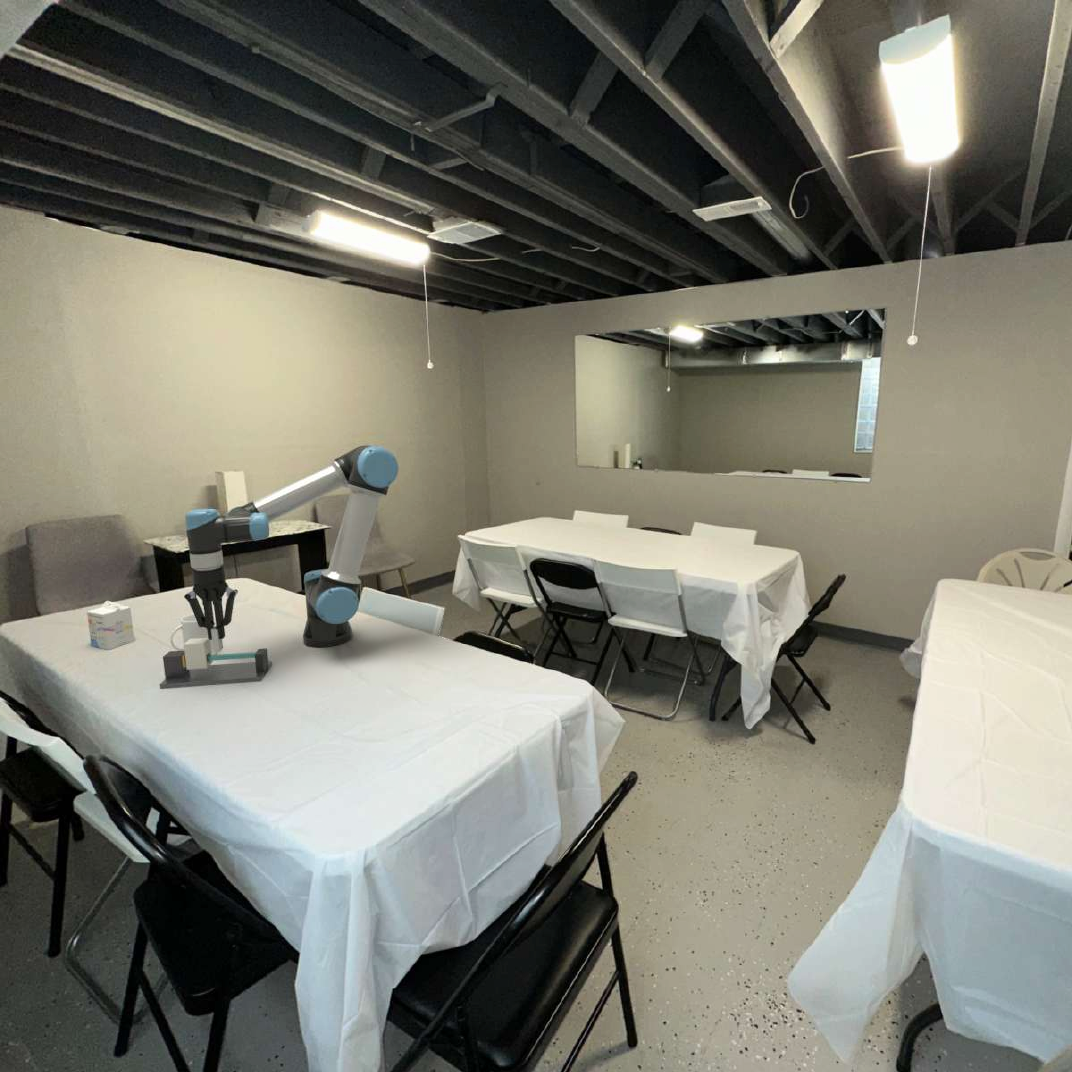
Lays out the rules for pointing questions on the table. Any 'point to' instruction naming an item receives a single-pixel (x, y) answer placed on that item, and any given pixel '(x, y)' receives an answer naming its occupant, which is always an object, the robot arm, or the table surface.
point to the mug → (191, 631)
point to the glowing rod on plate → (214, 670)
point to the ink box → (110, 626)
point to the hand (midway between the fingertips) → (218, 649)
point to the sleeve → (197, 653)
